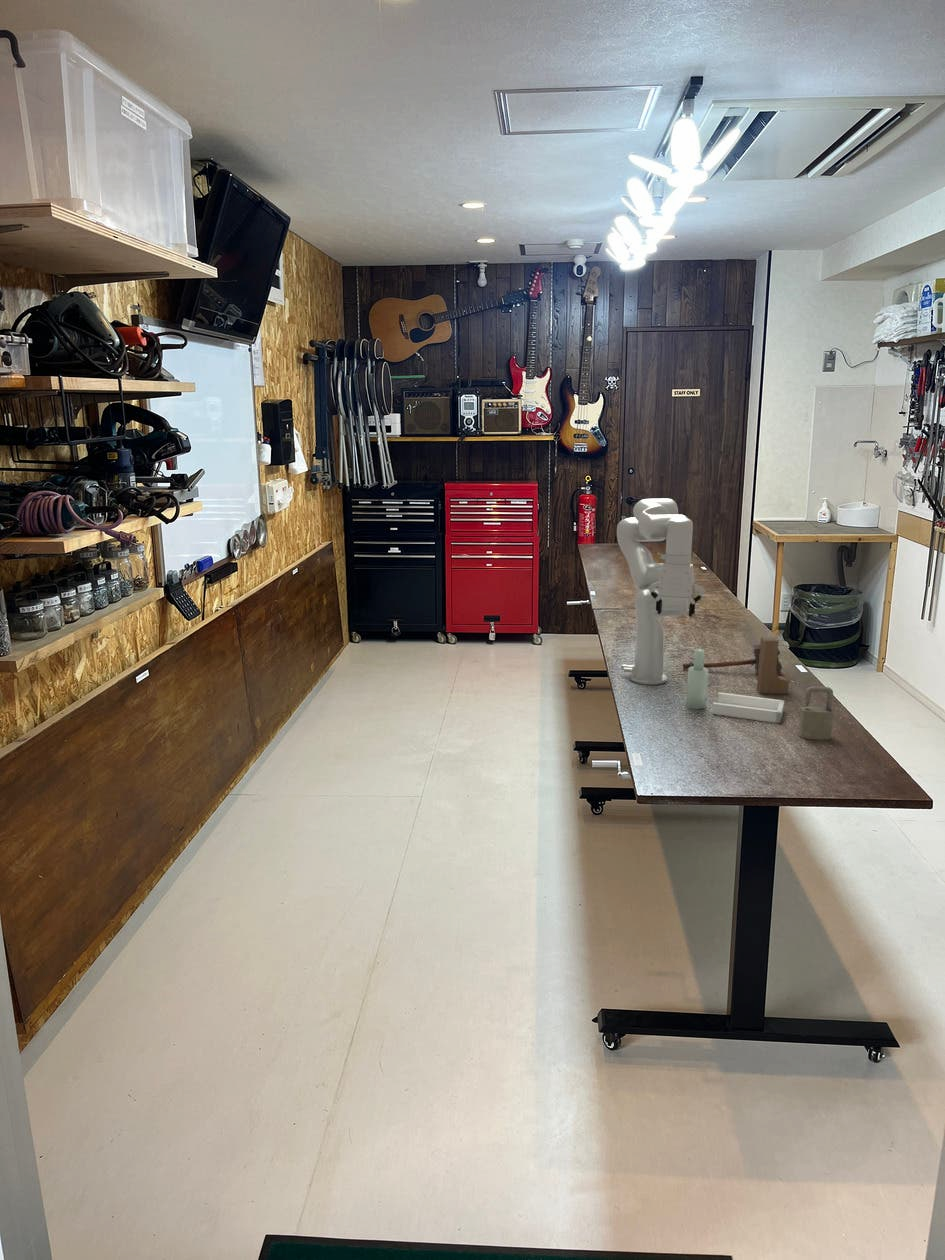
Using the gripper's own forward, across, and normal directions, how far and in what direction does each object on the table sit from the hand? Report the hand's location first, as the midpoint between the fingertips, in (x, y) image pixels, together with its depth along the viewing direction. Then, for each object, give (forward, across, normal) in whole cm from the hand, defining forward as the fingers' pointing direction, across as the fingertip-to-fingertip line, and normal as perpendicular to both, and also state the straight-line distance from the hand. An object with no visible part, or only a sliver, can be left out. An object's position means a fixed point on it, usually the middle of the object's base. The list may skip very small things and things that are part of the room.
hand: (674, 614), depth 277 cm
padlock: (+29, +43, -14) cm, 54 cm away
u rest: (+29, +24, 0) cm, 37 cm away
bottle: (+28, +8, 0) cm, 30 cm away
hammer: (+29, +14, +39) cm, 50 cm away
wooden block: (+29, +29, +22) cm, 47 cm away
